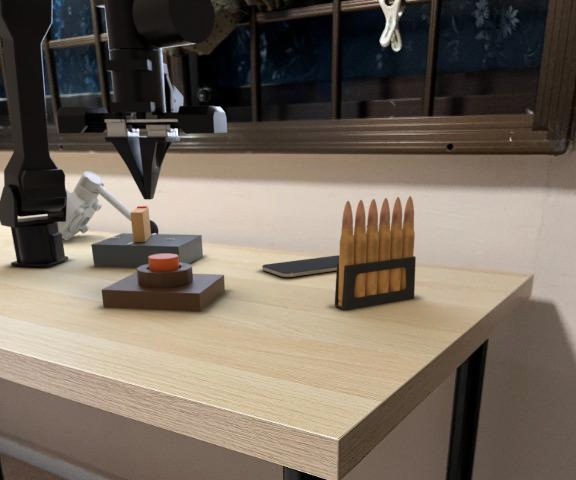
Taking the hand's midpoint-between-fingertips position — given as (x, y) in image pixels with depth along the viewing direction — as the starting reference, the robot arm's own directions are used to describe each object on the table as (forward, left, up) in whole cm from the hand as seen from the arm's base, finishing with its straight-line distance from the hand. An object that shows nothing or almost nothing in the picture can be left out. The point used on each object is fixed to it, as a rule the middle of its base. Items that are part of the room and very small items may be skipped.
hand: (148, 199), depth 73 cm
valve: (-26, +40, -12) cm, 49 cm away
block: (-11, +21, -8) cm, 24 cm away
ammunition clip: (+28, +1, -12) cm, 30 cm away
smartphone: (+18, +19, -12) cm, 28 cm away
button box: (+2, -2, -12) cm, 12 cm away
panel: (-9, +21, -12) cm, 25 cm away
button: (+2, -2, -8) cm, 9 cm away
